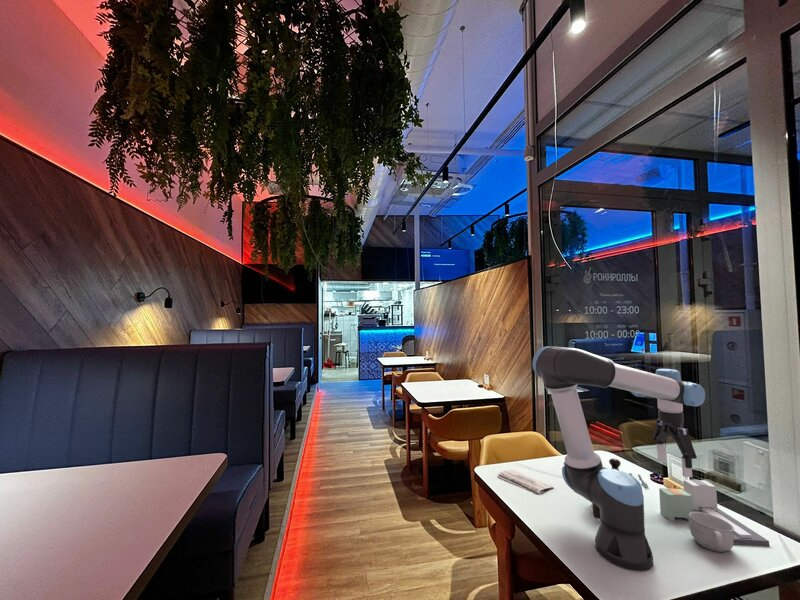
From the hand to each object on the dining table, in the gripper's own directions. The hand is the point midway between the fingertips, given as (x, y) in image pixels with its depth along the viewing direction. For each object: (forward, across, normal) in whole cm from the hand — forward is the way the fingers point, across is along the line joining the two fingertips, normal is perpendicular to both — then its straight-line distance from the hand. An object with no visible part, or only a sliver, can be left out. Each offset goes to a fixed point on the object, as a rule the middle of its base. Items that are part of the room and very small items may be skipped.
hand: (674, 468), depth 128 cm
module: (+17, 0, 0) cm, 17 cm away
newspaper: (+18, +23, +49) cm, 57 cm away
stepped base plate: (+17, -2, -12) cm, 21 cm away
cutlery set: (+18, +32, +10) cm, 38 cm away
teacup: (+18, -18, +1) cm, 25 cm away
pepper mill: (+17, +2, +23) cm, 29 cm away
